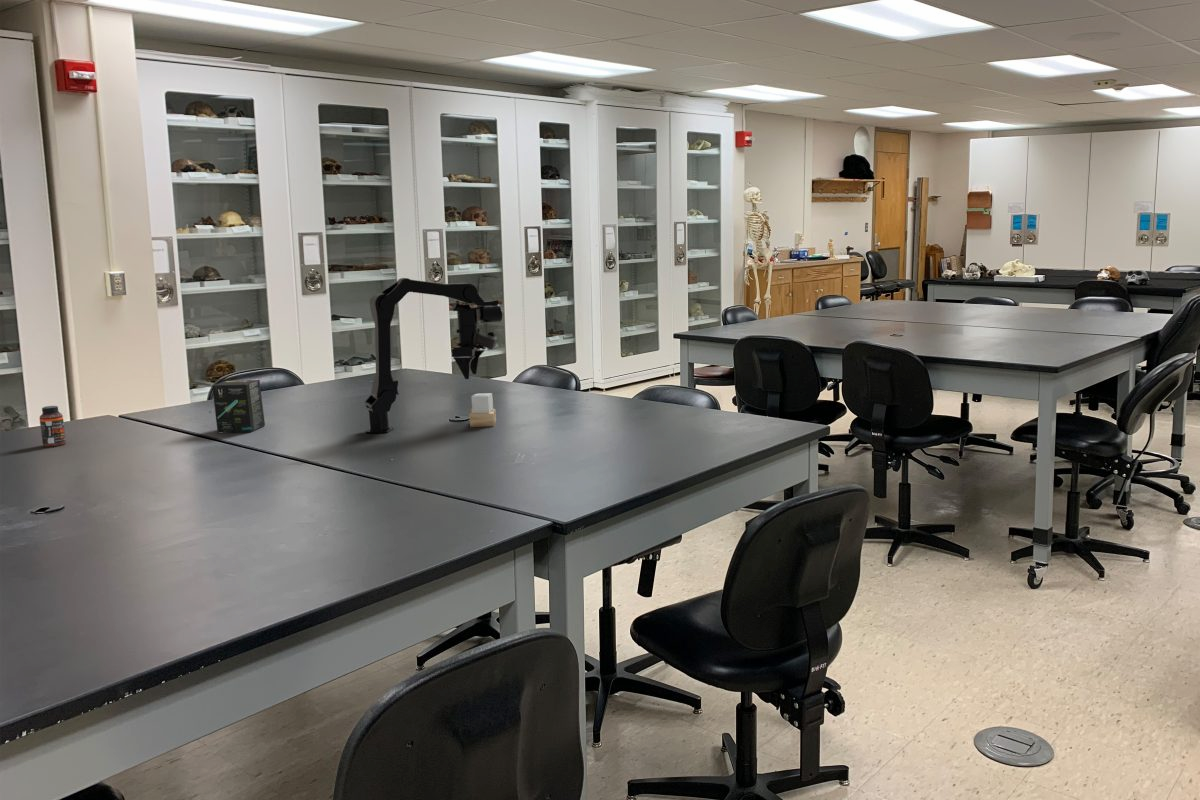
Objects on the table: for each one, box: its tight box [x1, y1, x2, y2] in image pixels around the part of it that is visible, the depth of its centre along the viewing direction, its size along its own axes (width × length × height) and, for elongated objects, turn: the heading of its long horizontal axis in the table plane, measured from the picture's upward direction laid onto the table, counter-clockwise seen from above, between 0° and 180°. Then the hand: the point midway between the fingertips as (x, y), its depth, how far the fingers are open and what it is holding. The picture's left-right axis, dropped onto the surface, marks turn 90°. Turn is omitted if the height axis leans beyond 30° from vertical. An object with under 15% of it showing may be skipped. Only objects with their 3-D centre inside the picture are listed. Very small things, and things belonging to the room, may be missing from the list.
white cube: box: [471, 392, 494, 413], centre depth 286 cm, size 5×5×5 cm
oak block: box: [469, 408, 497, 428], centre depth 286 cm, size 7×7×4 cm
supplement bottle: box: [39, 405, 67, 448], centre depth 280 cm, size 6×6×11 cm
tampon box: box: [212, 379, 266, 433], centre depth 291 cm, size 11×9×15 cm
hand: (470, 376), depth 293 cm, fingers open, 9 cm apart
